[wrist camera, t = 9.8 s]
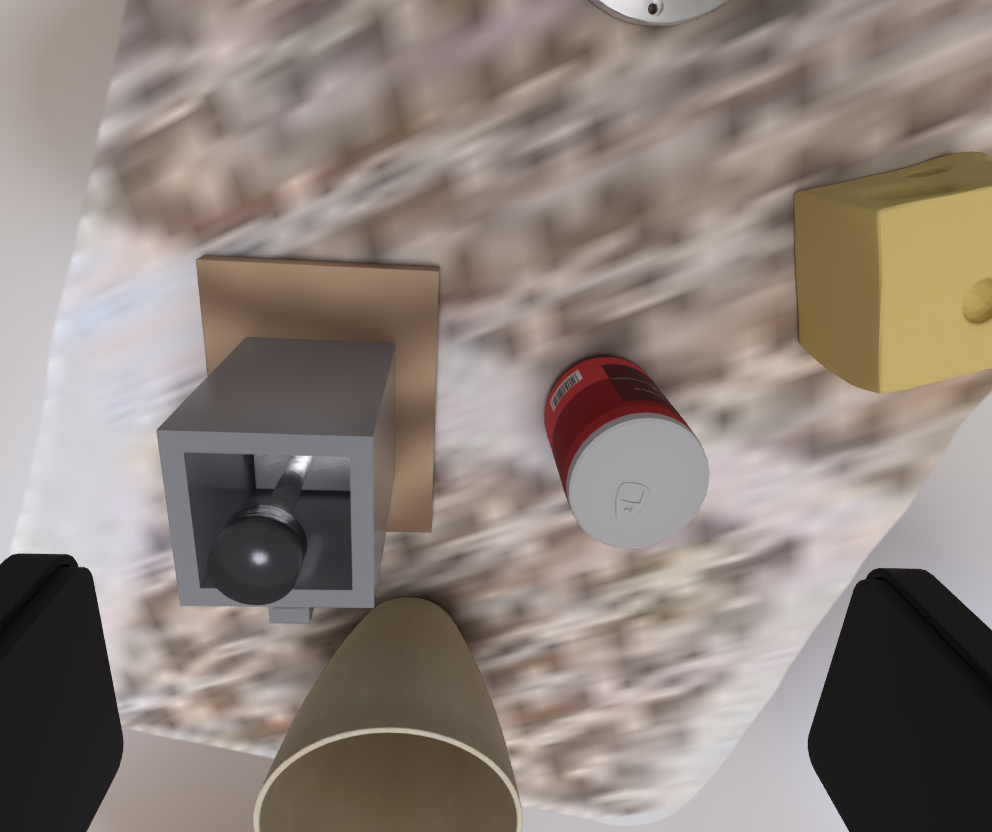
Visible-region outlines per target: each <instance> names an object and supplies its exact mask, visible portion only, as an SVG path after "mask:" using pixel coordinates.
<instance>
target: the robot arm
mask: <svg viewBox="0 0 992 832" xmlns="http://www.w3.org/2000/svg"><path fill="white" fill-rule="evenodd" d="M590 1H591V2H592V3H593V4H594V5H596V6H598V7H599V8H601V9H602V10H604V11H605V12H607V13H608V14H610V15H611V16H613V17H616V18H619V19H621V20H624V21H627V22H629V23H632V24H638V25H645V26H653V27H657V26H669V25H677V24H680V23H684V22H687V21H690V20H694V19H697V18H699V17H701V16H703V15H705V14H707V13H710V12H712V11H714V10H715V9H717V8H718V7H720V6H721V5H723V4H724V3H726V2H727V1H729V0H590ZM650 4H652V5H654V6H655V13H654V14H650V13H649V12H648V6H649V5H650ZM808 751H809V757H810V760H811V763H812V766H813V768H814V770H815V772H816V774H817V775H818V777H819V779H820V781H821V782H822V784H823V786H824V788H825V789H826V791H827V793H828V795H829V797H830V798H831V800H832V802H833V804H834V805H835V807H836V809H837V811H838V813H839V814H840V816H841V818H842V819H843V821H844V823H845V825H846V827H847V828H848V830H849V832H992V630H991V629H990V628H989V627H988V626H987V625H986V624H985V623H983V622H982V621H981V620H980V619H979V618H978V617H977V616H976V615H975V614H974V613H973V612H972V611H971V610H970V609H968V608H967V607H966V606H965V605H964V604H963V603H962V602H961V601H960V600H959V599H958V598H957V597H956V596H955V595H953V594H952V593H951V592H950V591H949V590H948V589H947V588H946V587H945V586H944V585H943V584H942V583H940V581H938V580H937V579H936V578H935V577H934V576H933V575H931V574H930V573H929V572H927V571H926V570H922V569H898V568H878V569H874V570H872V571H871V572H870V573H869V574H868V576H867V578H866V580H861V581H859V582H858V583H857V584H856V586H855V588H854V590H853V594H852V597H851V600H850V603H849V607H848V610H847V613H846V617H845V619H844V623H843V626H842V629H841V632H840V636H839V639H838V642H837V645H836V649H835V652H834V655H833V658H832V662H831V665H830V668H829V672H828V674H827V678H826V681H825V684H824V687H823V691H822V694H821V697H820V700H819V703H818V707H817V710H816V713H815V716H814V720H813V723H812V726H811V729H810V733H809V737H808ZM122 753H123V734H122V729H121V723H120V718H119V713H118V708H117V702H116V697H115V692H114V687H113V681H112V676H111V671H110V665H109V660H108V655H107V650H106V644H105V639H104V634H103V629H102V623H101V618H100V613H99V608H98V602H97V597H96V592H95V587H94V581H93V577H92V574H91V572H90V571H89V569H87V568H85V567H78V564H77V562H76V560H75V559H74V558H73V557H72V556H70V555H68V554H14V555H11V556H10V557H8V558H7V559H6V560H4V561H3V562H2V563H1V564H0V832H86V831H87V830H88V828H89V826H90V824H91V822H92V820H93V818H94V816H95V814H96V812H97V810H98V808H99V806H100V804H101V802H102V800H103V798H104V797H105V795H106V793H107V791H108V789H109V787H110V785H111V783H112V781H113V779H114V777H115V775H116V773H117V771H118V768H119V766H120V762H121V759H122Z"/></svg>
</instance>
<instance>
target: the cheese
mask: <svg viewBox="0 0 992 832" xmlns="http://www.w3.org/2000/svg"><path fill="white" fill-rule="evenodd" d="M794 227H795V265H796V283H797V299H798V316H799V343H800V344H801V345H802V346H803V347H804V348H805V349H806V350H807V351H808V352H809V353H810V354H811V355H812V356H813V357H814V358H815V359H816V360H817V361H818V362H819V363H820V364H822V365H823V366H824V367H825V368H827V369H828V370H830V371H831V372H833V373H834V374H835V375H837V376H838V377H840V378H841V379H843V380H845V381H846V382H848V383H850V384H852V385H853V386H856V387H858V388H861V389H864V390H868V391H872V392H875V393H879V394H885V393H891V392H896V391H901V390H906V389H911V388H915V387H920V386H923V385H927V384H931V383H934V382H938V381H942V380H946V379H949V378H953V377H957V376H961V375H964V374H968V373H972V372H977V371H981V370H985V369H989V368H992V160H991V157H990V156H989V155H987V154H984V153H981V152H961V153H956V154H951V155H947V156H942V157H938V158H935V159H932V160H929V161H926V162H923V163H919V164H916V165H913V166H910V167H907V168H903V169H899V170H895V171H891V172H886V173H882V174H877V175H872V176H868V177H864V178H859V179H855V180H850V181H846V182H841V183H837V184H832V185H827V186H823V187H818V188H813V189H808V190H804V191H799V192H796V194H795V195H794Z"/></svg>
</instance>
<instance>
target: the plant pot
mask: <svg viewBox="0 0 992 832" xmlns="http://www.w3.org/2000/svg"><path fill="white" fill-rule="evenodd" d="M522 824H523V815H522V807H521V803H520V799H519V794H518V790H517V786H516V782H515V778H514V774H513V770H512V766H511V762H510V759H509V755H508V751H507V747H506V743H505V740H504V736H503V733H502V729H501V726H500V723H499V720H498V717H497V714H496V711H495V708H494V706H493V703H492V700H491V698H490V695H489V692H488V690H487V687H486V685H485V682H484V680H483V677H482V675H481V673H480V671H479V669H478V666H477V664H476V662H475V660H474V658H473V656H472V654H471V652H470V650H469V648H468V646H467V644H466V642H465V640H464V638H463V637H462V635H461V633H460V631H459V630H458V628H457V626H456V625H455V623H454V622H453V620H452V619H451V617H450V616H449V614H448V613H447V612H446V611H445V610H444V609H442V608H441V607H440V606H438V605H436V604H435V603H433V602H431V601H428V600H425V599H421V598H416V597H399V598H394V599H390V600H387V601H385V602H383V603H381V604H379V605H377V606H376V607H375V608H373V609H372V610H371V611H370V612H369V613H368V614H367V615H366V616H365V617H364V618H363V619H362V621H361V622H360V623H359V624H358V625H357V626H356V627H355V629H354V630H353V631H352V632H351V633H350V635H349V636H348V637H347V638H346V639H345V641H344V642H343V643H342V645H341V646H340V647H339V649H338V650H337V651H336V653H335V654H334V655H333V657H332V658H331V660H330V661H329V663H328V664H327V666H326V667H325V669H324V670H323V672H322V673H321V675H320V676H319V678H318V679H317V681H316V682H315V684H314V686H313V687H312V689H311V691H310V692H309V694H308V696H307V697H306V699H305V701H304V702H303V704H302V706H301V708H300V710H299V712H298V713H297V715H296V717H295V719H294V721H293V722H292V724H291V726H290V729H289V731H288V733H287V735H286V737H285V739H284V741H283V743H282V745H281V747H280V749H279V751H278V753H277V755H276V757H275V759H274V762H273V764H272V766H271V768H270V770H269V772H268V775H267V777H266V779H265V781H264V784H263V786H262V788H261V791H260V793H259V795H258V797H257V800H256V803H255V807H254V815H253V826H254V832H522Z"/></svg>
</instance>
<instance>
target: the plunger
mask: <svg viewBox="0 0 992 832" xmlns="http://www.w3.org/2000/svg"><path fill="white" fill-rule="evenodd" d="M254 465H255V478H256V489H274V491H273V493H272V495H271V497H270V499H269V501H268V504H267V506H265V505H256V506H250V507H247V508H244V509H241V510H240V511H238V512H236V513H235V514H234V515H232V516H231V517H230V518H229V519H228V521H227V522H226V524H225V526H224V527H223V529H222V531H221V533H220V535H219V536H218V538H217V540H216V542H215V544H214V545H213V547H212V549H211V551H210V553H209V556H208V559H207V570H208V574H209V577H210V579H211V581H212V583H213V584H214V586H215V587H216V588H217V589H218V590H219V591H220V592H221V593H222V594H223V595H225V596H226V597H228V598H230V599H232V600H234V601H236V602H239V603H243V604H248V605H266V604H270V603H274V602H276V601H278V600H280V599H282V598H284V597H285V596H286V595H287V594H288V593H289V592H290V591H291V590H292V589H293V587H294V586H295V584H296V581H297V578H298V575H299V572H300V569H301V566H302V563H303V560H304V557H305V554H306V551H307V537H306V533H305V531H304V529H303V527H302V526H301V524H300V523H299V522H298V520H296V519H295V518H294V517H293V516H292V515H291V514H292V512H293V509H294V507H295V504H296V502H297V500H298V497H299V495H300V492H301V490H336V491H351V489H350V457H331V456H295V455H260V454H254Z"/></svg>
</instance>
